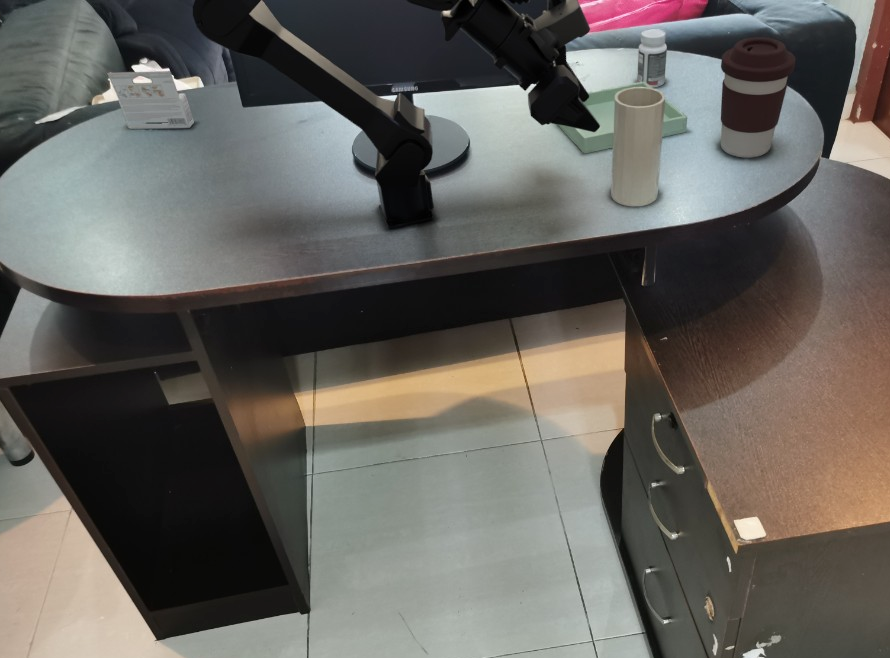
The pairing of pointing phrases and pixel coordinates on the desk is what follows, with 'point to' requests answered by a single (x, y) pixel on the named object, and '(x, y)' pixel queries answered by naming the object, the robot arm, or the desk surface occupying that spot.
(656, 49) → the pill bottle
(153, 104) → the ink cartridge box
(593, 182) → the desk surface
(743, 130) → the coffee cup
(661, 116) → the tumbler
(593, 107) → the tray
